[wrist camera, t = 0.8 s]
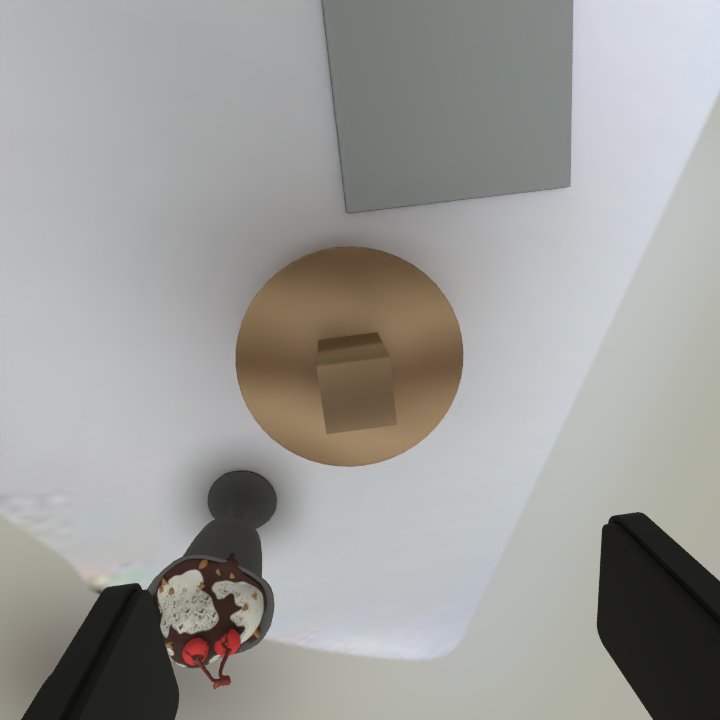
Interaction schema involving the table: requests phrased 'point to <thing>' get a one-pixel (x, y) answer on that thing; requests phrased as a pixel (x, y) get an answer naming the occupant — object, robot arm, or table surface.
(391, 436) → the lid
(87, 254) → the table surface
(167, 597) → the sundae
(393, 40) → the mat
